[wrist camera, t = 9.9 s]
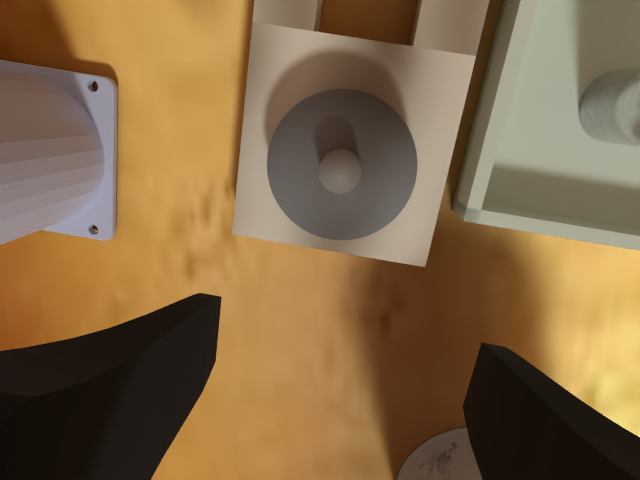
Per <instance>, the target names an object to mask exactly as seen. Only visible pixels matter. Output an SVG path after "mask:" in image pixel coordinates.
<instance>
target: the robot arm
mask: <svg viewBox="0 0 640 480" xmlns="http://www.w3.org/2000/svg"><path fill="white" fill-rule="evenodd" d="M94 81H96V82H97V84H98V90H97V91H96V92H95V91H94V90H93V87H92V84H93V82H94ZM117 99H118V89H117V85H116V83H115V81H114V80H113V79H111V78H109V77H105V76H99V75H93V74H86V73H80V72H74V71H67V70H61V69H55V68H49V67H42V66H36V65H30V64H24V63H17V62H11V61H5V60H0V245H1V244H4V243H7V242H9V241H12V240H15V239H17V238H20V237H23V236H25V235H28V234H31V233H33V232H36V231H39V230H46V231H51V232H57V233H63V234H69V235H74V236H80V237H86V238H92V239H97V240H103V241H105V240H109V239H111V238H113V237H114V236H115V233H116V183H117ZM93 225H95V226H96V227H97V228H98V233H97V232H95V231H94V230H93ZM220 307H221V297H220V296H214V295H208V294H203V293H198V294H195V295H192V296H190V297H187V298H185V299H182V300H180V301H177V302H175V303H173V304H170V305H168V306H166V307H163V308H161V309H159V310H156V311H154V312H151V313H149V314H146V315H144V316H141V317H138V318H136V319H133V320H130V321H127V322H125V323H122V324H119V325H117V326H114V327H111V328H108V329H104V330H101V331H98V332H94V333H90V334H87V335H83V336H79V337H75V338H71V339H67V340H62V341H56V342H51V343H46V344H41V345H36V346H31V347H25V348H19V349H12V350H5V351H0V480H151V478H152V476H153V474H154V473H155V471H156V469H157V467H158V465H159V463H160V462H161V460H162V458H163V456H164V455H165V453H166V451H167V450H168V448H169V446H170V445H171V443H172V441H173V440H174V438H175V437H176V435H177V433H178V432H179V430H180V428H181V427H182V425H183V423H184V422H185V420H186V418H187V417H188V415H189V413H190V412H191V410H192V408H193V407H194V405H195V403H196V402H197V400H198V398H199V397H200V395H201V393H202V391H203V389H204V387H205V385H206V382H207V380H208V378H209V376H210V373H211V371H212V368H213V366H214V363H215V361H216V351H217V340H218V329H219V318H220ZM463 410H464V415H465V421H466V427H467V431H468V436H469V441H470V444H471V447H472V450H473V453H474V456H475V459H476V462H477V465H478V468H479V471H480V474H481V477H482V479H483V480H640V437H638V436H636V435H635V434H633V433H631V432H629V431H628V430H626V429H624V428H623V427H621V426H619V425H618V424H616V423H614V422H613V421H611V420H610V419H608V418H606V417H605V416H603V415H602V414H600V413H599V412H597V411H596V410H594V409H593V408H591V407H590V406H588V405H587V404H585V403H584V402H582V401H581V400H580V399H578V398H577V397H575V396H574V395H573V394H571V393H570V392H568V391H567V390H565V389H564V388H563V387H561V386H560V385H559V384H557V383H556V382H554V381H553V380H552V379H550V378H549V377H548V376H546V375H545V374H544V373H542V372H541V371H540V370H538V369H537V368H535V367H534V366H533V365H531V364H530V363H529V362H527V361H526V360H524V359H523V358H522V357H520V356H519V355H517V354H516V353H514V352H513V351H511V350H509V349H508V348H506V347H503V346H497V345H491V344H486V343H482V344H481V347H480V350H479V354H478V357H477V360H476V364H475V367H474V371H473V374H472V377H471V381H470V384H469V387H468V391H467V394H466V397H465V401H464V404H463Z"/></svg>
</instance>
